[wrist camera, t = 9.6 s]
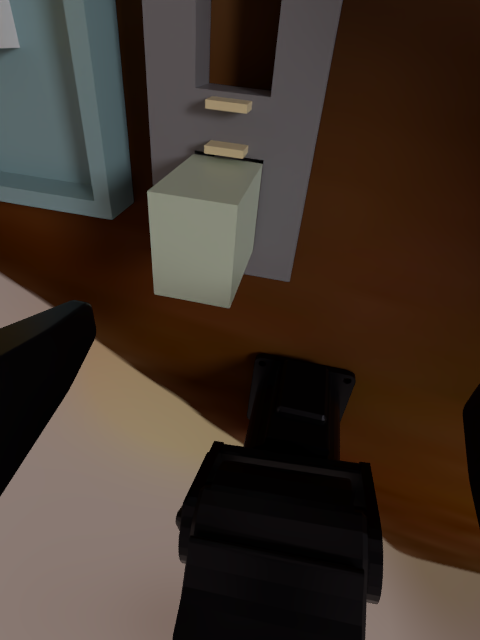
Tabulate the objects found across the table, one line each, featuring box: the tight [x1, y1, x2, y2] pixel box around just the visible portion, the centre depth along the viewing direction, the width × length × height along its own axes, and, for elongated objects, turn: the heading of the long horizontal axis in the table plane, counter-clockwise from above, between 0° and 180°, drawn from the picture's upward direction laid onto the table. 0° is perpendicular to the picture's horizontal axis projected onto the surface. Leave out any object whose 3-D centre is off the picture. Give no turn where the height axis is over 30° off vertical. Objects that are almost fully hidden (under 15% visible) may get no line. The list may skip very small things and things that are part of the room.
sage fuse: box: [147, 154, 263, 308], centre depth 16 cm, size 4×3×7 cm
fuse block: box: [142, 0, 343, 282], centre depth 14 cm, size 20×7×3 cm, turn 176°
